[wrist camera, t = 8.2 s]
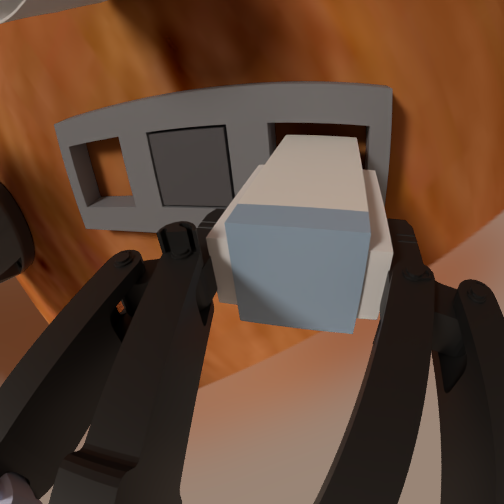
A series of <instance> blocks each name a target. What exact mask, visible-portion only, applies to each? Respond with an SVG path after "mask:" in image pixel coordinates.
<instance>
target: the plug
mask: <svg viewBox="0 0 504 504" xmlns="http://www.w3.org/2000/svg"><path fill="white" fill-rule="evenodd" d="M224 224H225V230H226V236H227V243H228V249H229V255H230V261H231V267H232V274H233V280H234V286H235V292H236V298H237V303H238V309H239V315H240V320H242V321H248V322H255V323H262V324H270V325H277V326H285V327H293V328H301V329H310V330H319V331H329V332H340V333H349V334H353V330H354V326H355V321H356V317H357V312H358V307H359V302H360V297H361V292H362V286H363V281H364V275H365V269H366V263H367V257H368V250H369V243H370V236H371V229H370V220H369V212H368V204H367V197H366V190H365V183H364V177H363V170H362V164H361V158H360V153H359V147H358V142H357V138H356V137H340V136H319V135H286V136H285V137H284V138H283V140H282V141H281V143H280V144H279V145H278V147H277V148H276V150H275V151H274V152H273V154H272V155H271V157H270V158H269V159H268V161H267V162H266V164H265V165H264V166H263V168H262V169H261V171H260V172H259V173H258V175H257V176H256V178H255V179H254V181H253V182H252V183H251V185H250V186H249V188H248V189H247V191H246V192H245V193H244V195H243V196H242V198H241V199H240V201H239V202H238V204H237V205H236V207H235V208H234V209H233V211H232V212H231V214H230V215H229V217H228V218H227V220H226V221H225V223H224Z"/></svg>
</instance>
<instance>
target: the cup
mask: <svg viewBox="0 0 504 504" xmlns="http://www.w3.org/2000/svg"><path fill="white" fill-rule="evenodd" d="M104 1H107V0H0V24H1V23H5V22H9V21H13V20H17V19H22V18H26V17H31V16H36V15H42V14H48V13H54V12H59V11H63V10H67V9H72V8H76V7H81V6H86V5H91V4H96V3H101V2H104Z"/></svg>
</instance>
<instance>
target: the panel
mask: <svg viewBox="0 0 504 504" xmlns="http://www.w3.org/2000/svg"><path fill="white" fill-rule="evenodd" d="M285 122H289V123H332V124H350V125H364V126H367V127H366V155H365V170H375V172H376V176H377V179H378V183H379V187H380V191H381V196H382V200H383V204H384V207H385V199H386V190H387V180H388V170H389V158H390V144H391V125H392V88H390V87H388V86H384V85H374V84H362V83H346V82H317V81H294V82H264V83H248V84H236V85H225V86H216V87H208V88H200V89H193V90H186V91H179V92H173V93H168V94H162V95H157V96H152V97H147V98H142V99H137V100H133V101H128V102H124V103H120V104H116V105H112V106H108V107H104V108H101V109H97V110H93V111H90V112H86V113H83V114H80V115H76V116H73V117H70V118H68V119H65V120H63V121H61V122H58V123H56V124H54V126H55V130H56V134H57V138H58V142H59V146H60V150H61V154H62V157H63V161H64V164H65V168H66V171H67V174H68V177H69V181H70V184H71V187H72V190H73V193H74V196H75V199H76V202H77V205H78V208H79V211H80V213H81V216H82V219H83V222H84V224H85V227H86V229H101V230H119V231H136V232H152V233H157V232H158V231H159V229H160V228H162V227H164V226H165V225H167V224H170V223H173V222H179V221H188V222H191V223H193V224H194V225H195V226H196V228H198V225H199V224H200V223H201V222H202V220H203V219H204V218H205V217H206V215H207V214H208V213H210V212H212V211H213V210H215V209H217V208H218V209H227V207H228V206H229V205H230V203H231V202H232V200H233V199H234V198H235V196H236V195H237V194H238V192H239V191H240V190H241V188H242V187H243V185H244V184H245V183H246V181H247V180H248V179H249V177H250V176H251V175H252V173H253V172H254V171H255V169H256V168H257V167H258V165H265V164H266V162H267V161H268V159H269V158H270V157H271V155H272V154H273V152H274V151H275V150H276V135H275V123H285ZM114 137H119V141H120V146H121V150H122V154H123V159H124V163H125V167H126V171H127V175H128V178H129V182H130V186H131V190H132V194H133V196H105V197H101V196H100V192H99V189H98V186H97V182H96V179H95V176H94V172H93V169H92V165H91V161H90V158H89V154H88V150H87V146H86V143H87V142H92V141H97V140H103V139H108V138H114Z"/></svg>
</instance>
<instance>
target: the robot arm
mask: <svg viewBox="0 0 504 504" xmlns="http://www.w3.org/2000/svg"><path fill="white" fill-rule="evenodd" d="M263 166H264V165H258V167H257V168H256V169H255V171H254V172H253V173H252V175H251V176H250V177H249V179H248V180H247V181H246V183H245V184H244V185H243V187H242V188H241V190H240V191H239V192H238V194H237V195H236V196H235V198H234V199H233V200H232V202H231V203H230V205H229V206H228V207H227V209H218V208H217V209H215V210H213V211H212V212H210V213H208V214H207V215H206V217H205V218H204V219H203V220H202V222H201V223H200V224H199V225H198V228H196V226H195V225H194V224H193V223H191V222H188V221H179V222H173V223H170V224H167V225H165V226H164V227H162V228H160V229H159V231H158V232H157V236H158V240H159V243H160V247H161V250H162V253H163V254H162V256H161V258H160V259H155V260H147V261H143V259H142V256H141V254H140V253H139V252H138V251H136V250H125V251H121V252H119V253H117V254H115V255H114V256H113V257H111V258H110V259H109V260H108V261H107V262H106V263H105V264H104V265H103V266H102V267H101V268H100V269H99V270H98V271H97V273H96V274H95V275H94V276H93V277H92V278H91V279H90V280H89V281H88V282H87V283H86V284H85V285H84V286H83V287H82V288H81V290H80V291H79V292H78V293H77V294H76V295H75V296H74V297H73V298H72V299H71V301H70V302H69V303H68V304H67V305H66V306H65V307H64V308H63V310H62V311H61V312H60V313H59V314H58V315H57V316H56V318H55V319H54V320H53V321H52V322H51V323H50V325H49V326H48V327H47V328H46V329H45V331H44V332H43V333H42V334H41V335H40V337H39V338H38V339H37V340H36V341H35V343H34V344H33V345H32V346H31V348H30V349H29V350H28V351H27V353H26V354H25V355H24V356H23V358H22V359H21V360H20V362H19V363H18V364H17V365H16V367H15V368H14V370H13V371H12V372H11V373H10V375H9V376H8V377H7V379H6V380H5V382H4V383H3V384H2V386H1V387H0V504H42V502H41V501H40V500H39V499H40V498H41V497H42V496H43V495H45V494H46V493H47V492H48V490H49V489H50V488H51V487H52V486H53V485H54V486H53V490H52V493H51V497H50V501H49V504H182V500H181V497H180V482H181V477H182V471H183V465H184V459H185V454H186V448H187V443H188V437H189V432H190V427H191V422H192V417H193V411H194V406H195V401H196V396H197V391H198V386H199V381H200V376H201V371H202V366H203V361H204V356H205V351H206V346H207V341H208V337H209V332H210V327H211V322H212V318H213V313H214V304H213V300H212V299H213V297H214V295H215V293H216V291H217V293H218V298H219V302H222V303H229V304H236V305H238V303H237V298H236V292H235V286H234V280H233V274H232V267H231V261H230V255H229V249H228V243H227V236H226V230H225V224H224V223H225V221H226V220H227V218H228V217H229V215H230V214H231V212H232V211H233V209H234V208H235V207H236V205H237V204H238V202H239V201H240V199H241V198H242V196H243V195H244V193H245V192H246V191H247V189H248V188H249V186H250V185H251V183H252V182H253V181H254V179H255V178H256V176H257V175H258V173H259V172H260V171H261V169H262V168H263ZM362 170H363V177H364V183H365V190H366V197H367V204H368V212H369V220H370V229H371V236H370V243H369V250H368V257H367V263H366V269H365V275H364V281H363V286H362V292H361V297H360V302H359V307H358V312H357V317H356V318H361V319H373V320H377V318H378V314H379V311H380V322H379V325H378V328H377V332H376V335H375V338H374V341H373V347H372V351H371V355H370V358H369V362H368V365H367V369H366V372H365V375H364V379H363V382H362V385H361V388H360V391H359V394H358V397H357V400H356V403H355V406H354V409H353V412H352V414H351V418H350V420H349V423H348V426H347V428H346V431H345V433H344V436H343V439H342V441H341V444H340V446H339V449H338V451H337V453H336V456H335V458H334V461H333V463H332V465H331V467H330V470H329V472H328V475H327V476H326V479H325V481H324V483H323V485H322V487H321V490H320V492H319V494H318V496H317V498H316V500H315V502H314V504H397V503H398V501H399V498H400V495H401V492H402V489H403V486H404V483H405V480H406V476H407V473H408V470H409V466H410V463H411V459H412V455H413V451H414V447H415V443H416V439H417V435H418V430H419V426H420V421H421V416H422V411H423V405H424V400H425V394H426V388H427V381H428V374H429V366H430V357H431V353H432V358H433V365H434V372H435V379H436V387H437V396H438V406H439V418H440V432H441V458H442V461H441V463H442V474H441V476H442V477H441V504H504V317H503V314H502V312H501V309H500V307H499V305H498V302H497V300H496V298H495V296H494V294H493V292H492V291H491V289H490V288H489V287H487V286H486V285H485V284H483V283H482V282H480V281H477V280H472V279H470V280H464V281H463V282H461V283H460V285H459V287H458V289H454V288H452V287H448V286H446V285H443V284H441V283H438V282H437V281H435V278H434V275H433V272H432V271H431V270H430V268H429V267H427V266H426V265H424V264H423V261H422V257H421V254H420V250H419V247H418V244H417V240H416V237H415V234H414V231H413V228H412V226H411V225H410V224H409V223H408V222H407V221H406V220H398V219H388V218H386V213H385V209H384V204H383V200H382V196H381V191H380V187H379V183H378V179H377V176H376V172H375V170H364V169H362ZM33 260H34V245H33V241H32V237H31V234H30V231H29V229H28V226H27V224H26V221H25V219H24V217H23V215H22V213H21V211H20V209H19V207H18V206H17V204H16V202H15V201H14V199H13V198H12V196H11V195H10V193H9V192H8V191H7V190H6V188H5V187H4V186H3V185H2V184H1V183H0V283H2V282H4V281H6V280H8V279H10V278H12V277H15V276H17V275H19V274H21V273H22V272H24V271H25V270H26V269H27V268H28V267H29V266H30V265H31V264H32V263H33ZM120 301H121V302H122V304H123V306H124V310H123V311H122V312H120V313H119V312H118V310H117V308H116V306H117V305H118V303H119V302H120ZM90 424H91V425H90ZM89 426H90V428H89ZM88 428H89V431H88V434H87V437H86V440H85V443H84V445H83V447H82V448H81V449H80V450H79V451H77V452H74V451H75V449H76V447H77V446H78V444H79V442H80V441H81V439H82V437H83V436H84V434H85V432H86V431H87V429H88Z"/></svg>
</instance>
